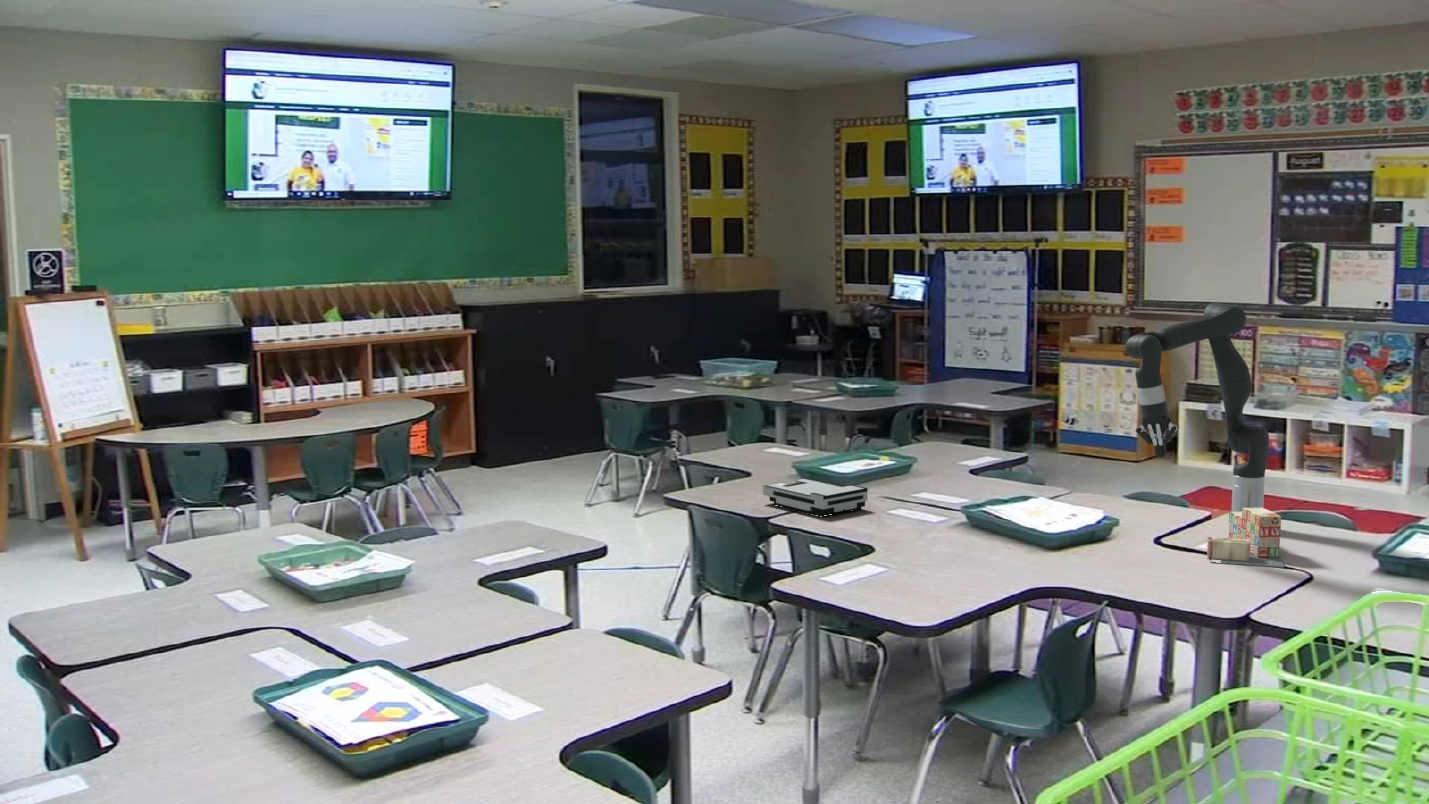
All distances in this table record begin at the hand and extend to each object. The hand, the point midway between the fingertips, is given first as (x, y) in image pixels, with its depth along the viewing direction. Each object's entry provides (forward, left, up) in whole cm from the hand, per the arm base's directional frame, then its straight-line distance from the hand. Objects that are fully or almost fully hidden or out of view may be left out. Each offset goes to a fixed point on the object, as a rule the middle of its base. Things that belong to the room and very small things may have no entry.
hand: (1161, 456), depth 361 cm
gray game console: (-24, -115, -28) cm, 120 cm away
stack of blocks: (-3, +26, -27) cm, 38 cm away
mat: (+10, +24, -27) cm, 38 cm away
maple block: (+10, +13, -24) cm, 30 cm away
